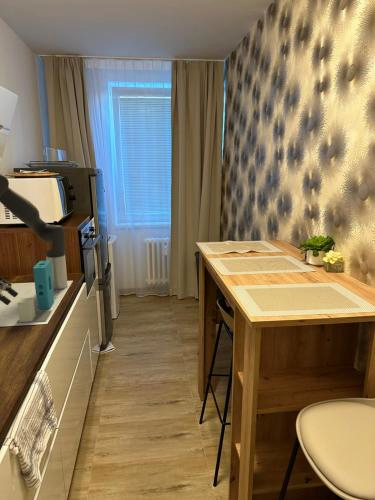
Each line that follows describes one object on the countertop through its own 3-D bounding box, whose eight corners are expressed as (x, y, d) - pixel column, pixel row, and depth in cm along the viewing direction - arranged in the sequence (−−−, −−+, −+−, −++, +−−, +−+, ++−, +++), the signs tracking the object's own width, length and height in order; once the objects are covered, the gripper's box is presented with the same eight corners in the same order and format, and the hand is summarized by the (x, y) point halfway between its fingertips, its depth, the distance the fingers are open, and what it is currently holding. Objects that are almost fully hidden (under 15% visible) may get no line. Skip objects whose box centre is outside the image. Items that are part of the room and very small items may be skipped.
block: (48, 310, 156) (44, 267, 151) (37, 311, 155) (32, 268, 151) (55, 300, 168) (51, 260, 163) (44, 301, 167) (39, 260, 162)
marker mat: (24, 312, 155) (24, 311, 155) (52, 310, 156) (51, 310, 156) (16, 323, 144) (16, 322, 144) (45, 321, 146) (45, 321, 146)
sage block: (23, 316, 149) (21, 298, 147) (35, 316, 150) (33, 297, 148) (19, 321, 145) (17, 302, 143) (32, 321, 145) (29, 302, 143)
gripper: (-23, 272, 133) (13, 299, 137) (-8, 262, 147) (24, 287, 151) (-35, 286, 134) (0, 312, 138) (-19, 275, 148) (13, 299, 152)
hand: (13, 299), depth 145 cm, fingers open, 8 cm apart
